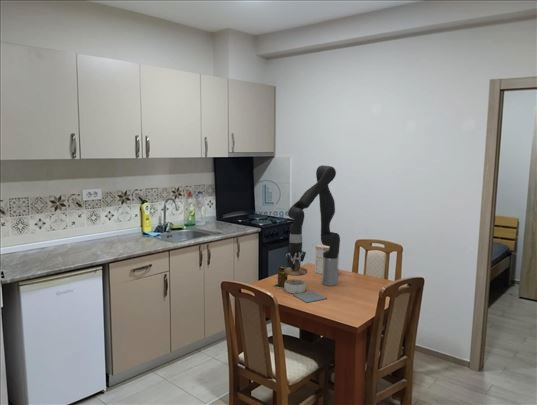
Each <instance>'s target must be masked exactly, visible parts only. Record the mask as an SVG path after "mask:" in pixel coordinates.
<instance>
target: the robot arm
mask: <svg viewBox="0 0 537 405" xmlns="http://www.w3.org/2000/svg"><path fill="white" fill-rule="evenodd" d="M315 175H316V176H315V177H316V183H315V184H313V185H311V187H310V188H308V189H307V190H306V191H304V193H302V196H301V197H300V198H299V200H297V201H296V202H295V203H294V204H292V206H290V207H289V209H288V212H287V214H288V217H289V219H292V220H293V222H292V223H291V224H290V225H289V252H288V253H285V258H286V260H287V262H288V263H289V264H290V267H291V269H292V270H295V264H294V263H295V261H297V262H299V269H300V267H301V262H304V259H305V257H306V253H307V252H306V251H303V224H304V221H305V212H304V209H308V208H309V207H310V205H311V204H312V203H313V202H314V201H315V199H316V198H317V197H318V196H319V197H318V198H319V212H320V242H321V244H323V245H325V246H329V251H326V252H324V253H323V274H321V275H322V278H321V283H322V284H323V285H324V286H330V287H331V286H336V285H338V284H339V269H337V265H338V254H339V255H340V244H341V237H340V234H339V233H337V232H333V231H331V228H330V227H331V226H330V225H331V221H332V220H333V218H334V216H335V214H336V204H335V199H334V196H333V195H332V192H331V190H330V188H329V187H330V186H329V184H330V183H331V182H332V181H333V180H334V179H335V177H336V175H337V170H336V169H335V167H334V166H330V165H319V166H318V167H317V168H316V171H315Z"/></svg>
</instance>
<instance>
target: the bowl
mask: <svg viewBox="0 0 537 405" xmlns="http://www.w3.org/2000/svg"><path fill="white" fill-rule="evenodd" d="M306 287H307V286H306V281H305V280H302V279H297V278H292V279H287V280H286V281H285V284H284V288H283V289H284V291H285V292H286V293H289V294H291V295H293V294H298V293H304V292H306Z"/></svg>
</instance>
